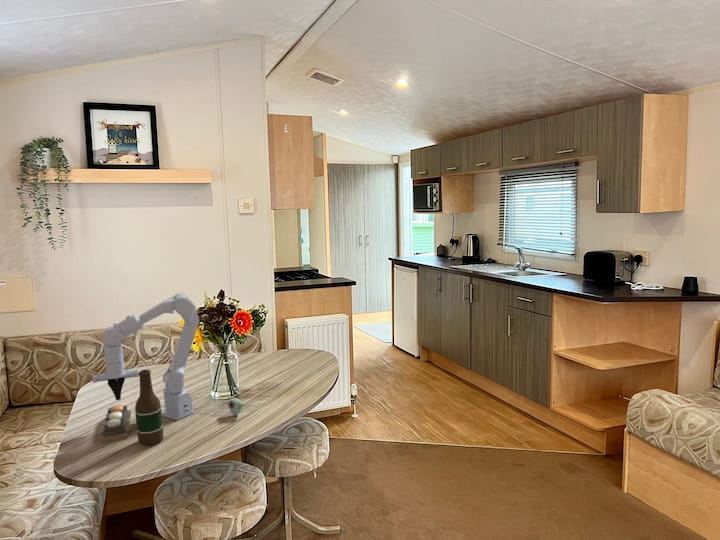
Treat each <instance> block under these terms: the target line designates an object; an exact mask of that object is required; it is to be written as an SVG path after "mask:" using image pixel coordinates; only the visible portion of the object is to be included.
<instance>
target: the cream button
mask: <svg viewBox="0 0 720 540" xmlns="http://www.w3.org/2000/svg"><path fill="white" fill-rule="evenodd" d="M112 419H122V412H113V413H111V414H109V420H112Z"/></svg>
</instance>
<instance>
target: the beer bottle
mask: <svg viewBox="0 0 720 540" xmlns="http://www.w3.org/2000/svg"><path fill="white" fill-rule="evenodd" d="M151 374H152V371H151V370H149V369H142V370H139V374H138V375H139V397H138V398H137V400H136V402H135V408H134V409H135V411H134V412H135V421H136V432H137V434H136V435H137V440H138V443H139V445H140V446H142V447H152V446H156V445H159V444H160V443H162V441H163V439H164V425H163V416H162V413H163V412H162V405H161V401H160V399H159V398H158V396H157V395H156V394H155V393H154V388H153V384H152V382H153V381H152V376H151Z"/></svg>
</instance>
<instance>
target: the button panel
mask: <svg viewBox="0 0 720 540" xmlns="http://www.w3.org/2000/svg"><path fill="white" fill-rule="evenodd" d="M110 408H111V407H108V408H107V413H106V415H105V419H104V422H103V423H104V424H103V427H102V428H103V429H102V432H101V436H100V444H104V443H105V444H106V443H111V442H116V441H122V440H128V438H129V437H128V436H129V430H130V425H131V424H130V423H131V416H132V412H131V410H129V409H128V405H127V404H126V405H123V409H124V411H123V412H122V419H120V420H121V426H117V427H111V428H107V422H108V421H109V414H111V409H110Z"/></svg>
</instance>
